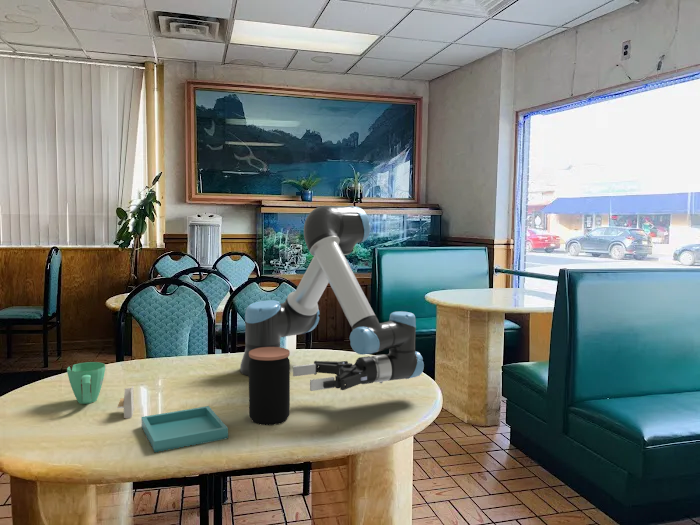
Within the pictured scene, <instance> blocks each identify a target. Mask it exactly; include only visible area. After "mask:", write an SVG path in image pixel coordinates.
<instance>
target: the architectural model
mask: <svg viewBox="0 0 700 525" xmlns="http://www.w3.org/2000/svg"><path fill="white" fill-rule="evenodd" d="M123 393H124V394H123V396H124V397H123V398H122V397H121V398H120V399H119V401H118V404H117V406H116V408H117V409H123V418H127V419H132V418H133V416H134V415H133V414H134V412H133V411H135V404H134V403H135V402H134V385H131V387H129V388H127V387H125V388H124V392H123ZM131 417H132V418H131Z"/></svg>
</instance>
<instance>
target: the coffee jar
mask: <svg viewBox="0 0 700 525" xmlns="http://www.w3.org/2000/svg"><path fill="white" fill-rule="evenodd" d="M290 353H291V352H290V350H289V349H287V348H284V347H281V346H280V347H261V348H256V349H253V350H251V351H249V357H250V358H251V359H250V360H249V376H248V416H249V418H250V420H251V422H253V423H254V424H256V425H260V424H261V425H260V426H274V424H276V425H279V423H280V424H283V423H284V422H286V421H287V419H288V418H289V417H290V413H291V412H290V408H291V406H290V405H291V403H290V400H291V399H290V398H291V397H290V396H291V395H290V393H291V392H290V390H291V389H290V387H291V385H290V382H291V379H290V378H291V377H290V376H291V375H290V374H291V373H290V372H291V370H290V368H291V367H290V366H291V363H290V362H291V360H290V358H289V357H290ZM282 422H283V423H282Z"/></svg>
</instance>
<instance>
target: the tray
mask: <svg viewBox="0 0 700 525" xmlns="http://www.w3.org/2000/svg"><path fill="white" fill-rule="evenodd" d="M140 418H141V429H142V430H144V431H143V433H144V435H145V436H147V437H146V439H147V441H148V440H149V441H148V443H149V442H150V443H149V444H151V445H150V446H152V447H151V448H153V449H152V450H154V451H153V452H154V453H155V452H156V453H159V451H161V452H165V451H164V450H166V451H169V450H168V449H171V450H175V449H174V448H176V449H180V448H179V447H181V448H185V447H184V446H187V447H190V445H192V446H195V445H196V444H197V445H201V444H206V443H212V442H217V441H222V439H223V440H226V439H227V438H228V439H229V428H228V426H227V425H226V424H225V423H224V422H223V421H222V419H221V418H220V417H219V416H218V415H217V414H216V412H214V410H213V409H212V408H211V407H210V406H209V405H208V406H207V405H206V406H200V407H193V408H189V409H182V410H177V411H170V412H164V413H157V414H156V413H155V414H151V415H144V416H141V417H140ZM228 439H227V440H228Z"/></svg>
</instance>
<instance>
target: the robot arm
mask: <svg viewBox="0 0 700 525" xmlns="http://www.w3.org/2000/svg"><path fill="white" fill-rule="evenodd" d="M370 232H371V224H370V218H369V216H368V214H367V213H366V211H365V210H364V209H363V208H361V207H359V206H354V205H347V206H343V205H342V206H339V205H335V206H334V205H322V206H321V205H320V206H318V207H316V208H314V209H312V211H310V212H309V214H308V215H307V217H306V218H305V221H304V225H303V236H304V237H303V238H304V241H305V244H306V247H307V250H308V252H309V254H310V255H311V256H313V258H312V259H311V261H310V263H309V264H308V267H307V269H306V270H305V272H304V274H303V276H302V278H301V280H300V282H299V283H298V285H297V287H296V289H295V291H291V292H290V293H289V294H287V297H286V299H285V300H284V302H282V303H280V301H278V300H273V299H268V300H259V301H255V302H252V303H251V304H249V305H247V307H246V308H245V312H244V313H245V315H244V321H245V324H244V326H245V336H244V337H245V349H244V352H243V356H242V358H241V362H240V367H239V368H240V369H239V370H240V373H241V374H242V375H245V376H248V377H249V360H250V359H251V358H250V357H249V351H251V350H253V349H256V348H261V347H280V348H281V338H284V337H285V338H286V337H292V336H297V335H305V334H306V333H309V332H311V331H313V330H314V329H316V328H317V325H318V324H319V321H320V316H319V315H320V310H319V304H318V303H319V301H320V299H321V297H322V295H323V294H324V291H325V290H326V288H327V286H328V284H329V286H330V287H331V289H332V292H333V293H334V295H335V297H336V300H337V301H338V303H339V306H340V307H341V310H342V311H343V313H344V316H345V317H346V319H347V321H348V323H349V325H350V327H351V330H352V331H351V332H350V335H349V340H350V343H349V344H350V345H349V346H350V347H351V348H352V350H353V351H354V352H355V353H356V354H358V355H369V356H360V357H357V359H356V361H355V363H354V364H353V363H350V362H349V361H348V360H343V361H341V360H340V361H335V360H334V361H332V360H331V361H329V360H327V361H326V360H321V361H320V360H314V361H313V363H310V364H309V363H308V364H302V365H293V366H292V377H302V376H307V375H315V376H316V375H317V374H318V373H320V374H329V375H335V376H331V377H324V378H316V379H315V378H314V379H310V381H309V391H311V392H312V391H313V392H314V391H321V390H328V389H340V391H345V390H348V389H351V388H353V387H356V386H358V385H368V384H369V385H370V384H373V383H379V384H383V382H388V381H389V382H390V381H396V380H407V379H408V380H409V379H413V378H417V377H420V376H421V375H422V374H423V371H424V367H425V364H424V363H425V362H424V361H423V360H424V358H423V356H422V355H421V353H420V352H419V351H416V332H417V330H416V329H417V325H416V322H417V320H416V316H415V314H414V313H412V312H408V311H403V310H401V311H393V312H391V313H390V314H389V320H388V321H384V322H379V319H378V317H377V315H376V314H375V312H374V310H373V308H372V307H371V304H370V303H369V300H368V298H367V296H366V295H365V293H364V291H363V289H362V287H361V285H360V284H359V281H358V279H357V277H356V275H355V273H354V272H353V270H352V268H351V266H350V264H349V262H348V259H347V258H346V256H347V255H350V254H351V253H352V251H353V250H354V248H355V247H356V244H362V243H363V242H365V241H367V239H369V238H368V237H369V236H370ZM386 350H388V351H389V353H388V354H376V355H375V353H378V352H381V351H386ZM370 354H371V356H370ZM372 354H374V355H372Z"/></svg>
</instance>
